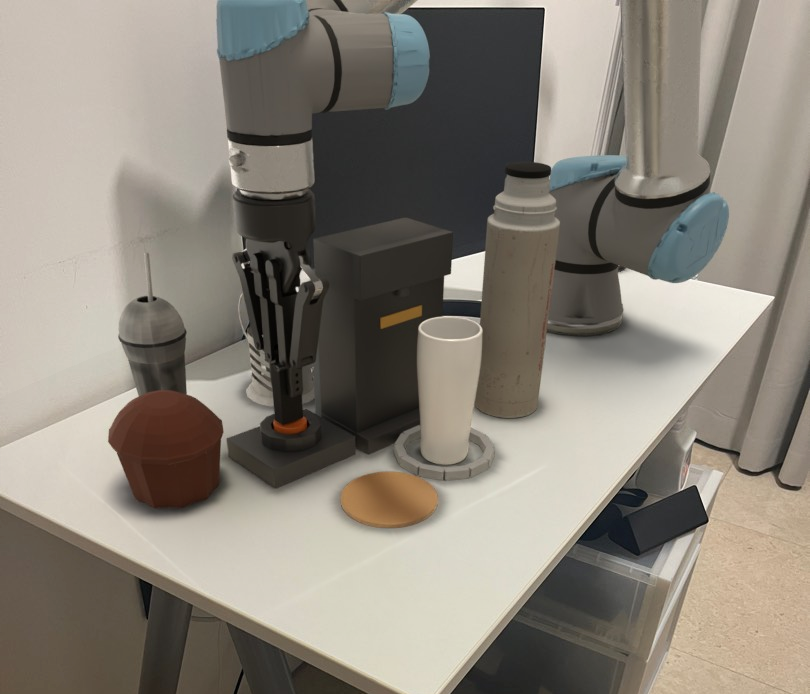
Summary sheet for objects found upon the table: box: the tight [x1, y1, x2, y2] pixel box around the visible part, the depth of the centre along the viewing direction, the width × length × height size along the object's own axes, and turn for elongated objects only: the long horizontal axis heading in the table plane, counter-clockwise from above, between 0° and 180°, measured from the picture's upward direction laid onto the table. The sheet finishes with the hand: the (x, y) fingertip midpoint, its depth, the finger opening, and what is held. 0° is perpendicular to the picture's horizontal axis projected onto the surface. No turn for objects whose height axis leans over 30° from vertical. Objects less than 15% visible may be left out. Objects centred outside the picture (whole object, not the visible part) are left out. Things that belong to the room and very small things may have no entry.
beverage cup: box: [117, 252, 188, 397], centre depth 92 cm, size 7×7×20 cm
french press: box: [237, 292, 315, 408], centre depth 99 cm, size 10×12×25 cm
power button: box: [273, 416, 307, 434], centre depth 91 cm, size 4×4×2 cm
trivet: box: [340, 471, 439, 529], centre depth 85 cm, size 10×10×1 cm
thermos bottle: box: [474, 161, 560, 419], centre depth 96 cm, size 8×8×28 cm
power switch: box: [226, 408, 357, 489], centre depth 92 cm, size 11×9×4 cm
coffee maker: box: [311, 216, 496, 481], centre depth 90 cm, size 13×22×22 cm, turn 43°
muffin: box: [107, 390, 224, 509], centre depth 84 cm, size 12×11×10 cm
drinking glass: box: [417, 315, 483, 466], centre depth 89 cm, size 7×7×15 cm
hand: (289, 418), depth 90 cm, fingers closed
